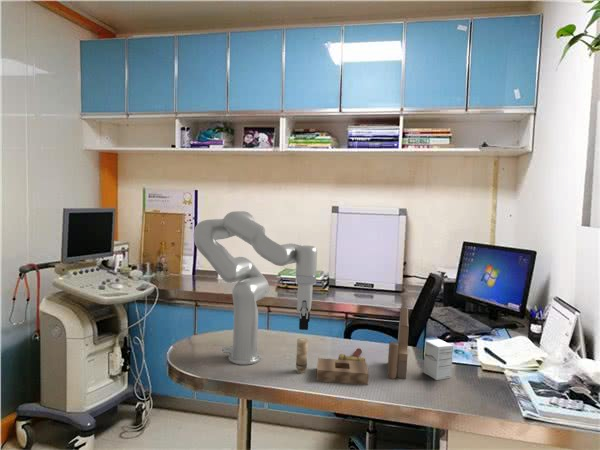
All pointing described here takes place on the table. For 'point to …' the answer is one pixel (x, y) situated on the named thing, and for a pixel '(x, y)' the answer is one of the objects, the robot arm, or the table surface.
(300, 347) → the wooden pepper mill
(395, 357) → the wooden toy
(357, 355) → the gavel
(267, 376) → the table surface
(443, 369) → the supplement box
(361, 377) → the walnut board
